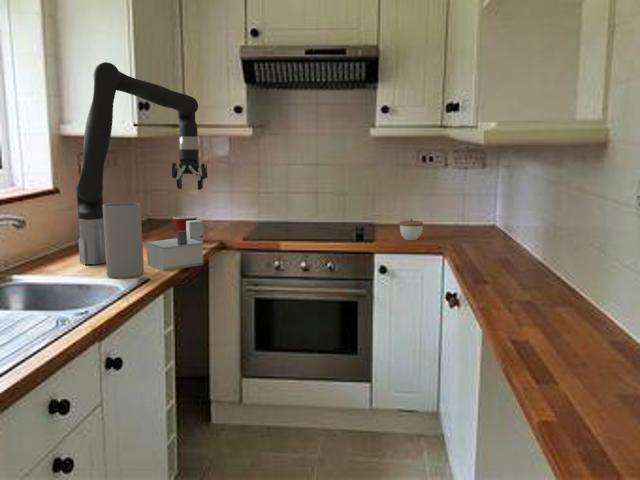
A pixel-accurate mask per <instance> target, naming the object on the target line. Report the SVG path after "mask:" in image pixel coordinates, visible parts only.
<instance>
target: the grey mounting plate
mask: <svg viewBox="0 0 640 480" xmlns="http://www.w3.org/2000/svg"><path fill="white" fill-rule="evenodd" d="M176 235H177V238H170V239H163V240H154V241H153V240H152V241H145V243H146V244H149V245H152V246H155V247H158V248H161V249H169V248H176V247H184V246H192V245H199V244H203V245H204V241H203V242H200V241H196V240H193V239H189V238H187V231H185V230H184V231H177V230H176Z"/></svg>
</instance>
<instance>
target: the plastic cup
mask: <svg viewBox="0 0 640 480" xmlns="http://www.w3.org/2000/svg"><path fill="white" fill-rule="evenodd" d="M172 219H173V221H174V224H175V229H176V232H177V231H184V230H185V231H186V221H192V220H198V216H174V217H173V216H172Z"/></svg>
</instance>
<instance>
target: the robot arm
mask: <svg viewBox="0 0 640 480" xmlns="http://www.w3.org/2000/svg"><path fill="white" fill-rule="evenodd" d="M92 78H93V93H92V94H93V95H92V101H91V105H90V107H89V111H88V115H87V118H86V121H85V128H84V133H83V134H84V136H83V148H82V149H83V151H82V152H83V161H82V163H83V164H82V168H81V172H80V176H79V179H78V181H77V183H76V188H75V189H76V202H77V215H78V226H79V227H78V229H79V238H78V241H77V242H78V254H79V263H80V262H82V263H84V264H93V265H101V263H102V264H105V263H106V251H105V236H104V220H103V204H104V199H103V198H104V197H103V191H104V189H103V187H104V186H103V182H104V170H105V169H104V168H105V163H106V159H107V156H108V152H109V151H108V150H109V148H110V147H109V146H110V142H111V135H112V130H113V129H112V128H113V120H114V119H113V118H114V101H115V96H116V93H117V91H119V92H122V93H125V94H126V93H127V94H129V95H132V96H135V97H137V98H140V99H142V100H145V101H148V102H150V103H153V104H156V105H158V106H161V107H164V108H167V109H168V108H170V109H172V110H175V111H177V115H178V118H177V119H178V121H179V123H178V124H179V125H178V126H179V129H178V130H179V131H178V133H179V134H178V135H179V137H178V139H179V140H178V152H179V153H178V155H179V158H178V159H179V163H178V162H172V163H171V178H173V179H175V180H176V188H177V189H178V190H183V179H182V178H183V176H185V175H194V177H196V178H197V190H198V191H201V190H202V189H203V188H204V182H203V181H204V180H205V179H207V178H208V167H207V163H206V162H203V163H200V162H199V160H200V158H199V157H200V156H199V155H200V154H199V150H200V149H199V148H200V146H199V136H198V133H199V132H198V123H197V122H196V113H197V111H198V109H199V103H198V100H197V99H196V98H194V96H191V95H188V94H185V93H182V92H177V91H174V90H172V89H170V88H168V87H167V88H166V87H164V86H162V85H159V84H156V83H153V82H150V81H149V82H148V81H146V80H141V79H138V78H135V77H133V76H130V75H127V74H125V73H123V72H122V71H120V70H119V69H118V67H116V65H115V64H113V63H111V62H108V61H105V62H102V63H99V64H98V65H96V66H95V67H94V70H93V73H92ZM179 168H180V170H179V172H178V169H179ZM199 169H201V171H200V170H199ZM82 263H81V264H82ZM84 264H83V265H84Z"/></svg>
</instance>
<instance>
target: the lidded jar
mask: <svg viewBox="0 0 640 480" xmlns="http://www.w3.org/2000/svg"><path fill="white" fill-rule="evenodd" d="M398 224H399V232H400V234H401V236H402V238H403V239H404V240H406V241H416V240H419V239H418V238H420V237H421V236H422V233H423V227H424V222H423V221H422V220H421V221H420V220H413V218H409V220H402V221H401V220H400V221H399V223H398Z"/></svg>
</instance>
